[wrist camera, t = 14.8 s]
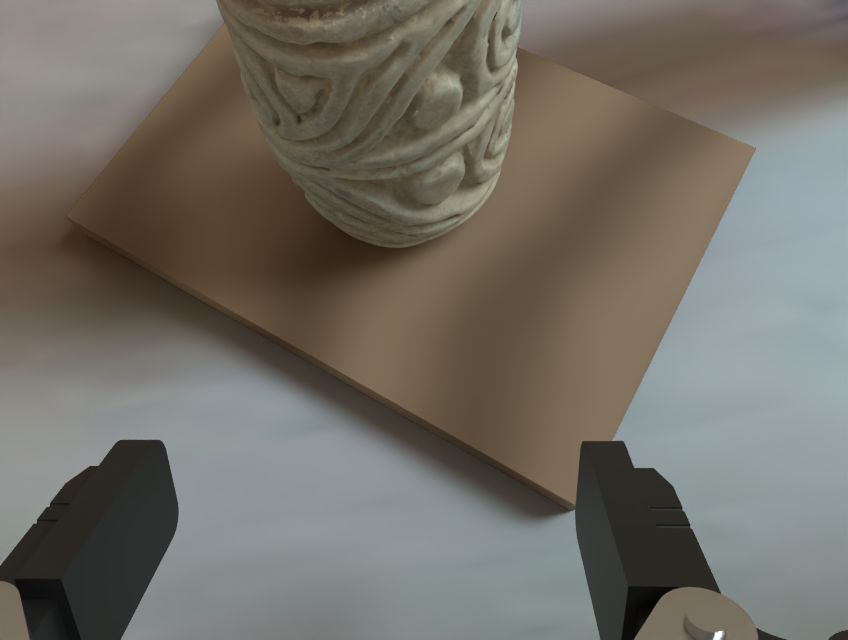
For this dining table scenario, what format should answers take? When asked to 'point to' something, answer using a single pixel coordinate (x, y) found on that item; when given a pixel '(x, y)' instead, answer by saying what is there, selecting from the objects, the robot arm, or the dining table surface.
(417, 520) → the dining table surface
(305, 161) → the carving
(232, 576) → the dining table surface
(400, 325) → the walnut board
